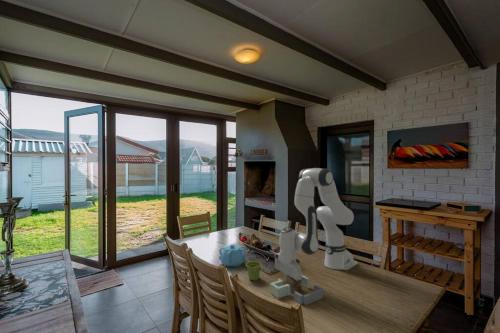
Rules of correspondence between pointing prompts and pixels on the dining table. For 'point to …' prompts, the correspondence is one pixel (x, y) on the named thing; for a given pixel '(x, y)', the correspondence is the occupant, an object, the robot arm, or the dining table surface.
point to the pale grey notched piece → (285, 287)
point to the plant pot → (253, 270)
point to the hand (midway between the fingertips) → (288, 282)
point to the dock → (309, 296)
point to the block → (294, 284)
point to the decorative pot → (232, 255)
